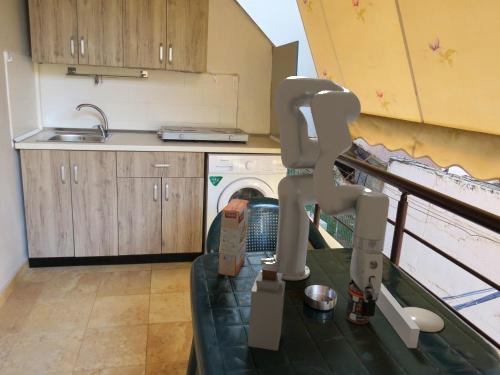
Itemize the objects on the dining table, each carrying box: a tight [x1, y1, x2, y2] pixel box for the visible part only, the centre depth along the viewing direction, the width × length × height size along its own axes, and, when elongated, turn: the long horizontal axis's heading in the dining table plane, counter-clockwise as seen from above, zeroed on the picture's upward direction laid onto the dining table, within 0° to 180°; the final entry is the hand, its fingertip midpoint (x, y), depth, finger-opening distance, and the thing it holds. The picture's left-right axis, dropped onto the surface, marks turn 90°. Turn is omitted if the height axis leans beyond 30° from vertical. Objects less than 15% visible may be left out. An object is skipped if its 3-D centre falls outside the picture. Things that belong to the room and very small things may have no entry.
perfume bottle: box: [247, 264, 286, 352], centre depth 93 cm, size 7×7×18 cm
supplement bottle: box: [345, 282, 371, 325], centre depth 104 cm, size 6×6×11 cm
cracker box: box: [217, 198, 250, 277], centre depth 129 cm, size 14×6×21 cm, turn 168°
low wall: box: [375, 282, 420, 349], centre depth 106 cm, size 2×24×5 cm, turn 5°
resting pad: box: [402, 306, 445, 333], centre depth 107 cm, size 11×11×1 cm
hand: (360, 305), depth 104 cm, fingers open, 9 cm apart
